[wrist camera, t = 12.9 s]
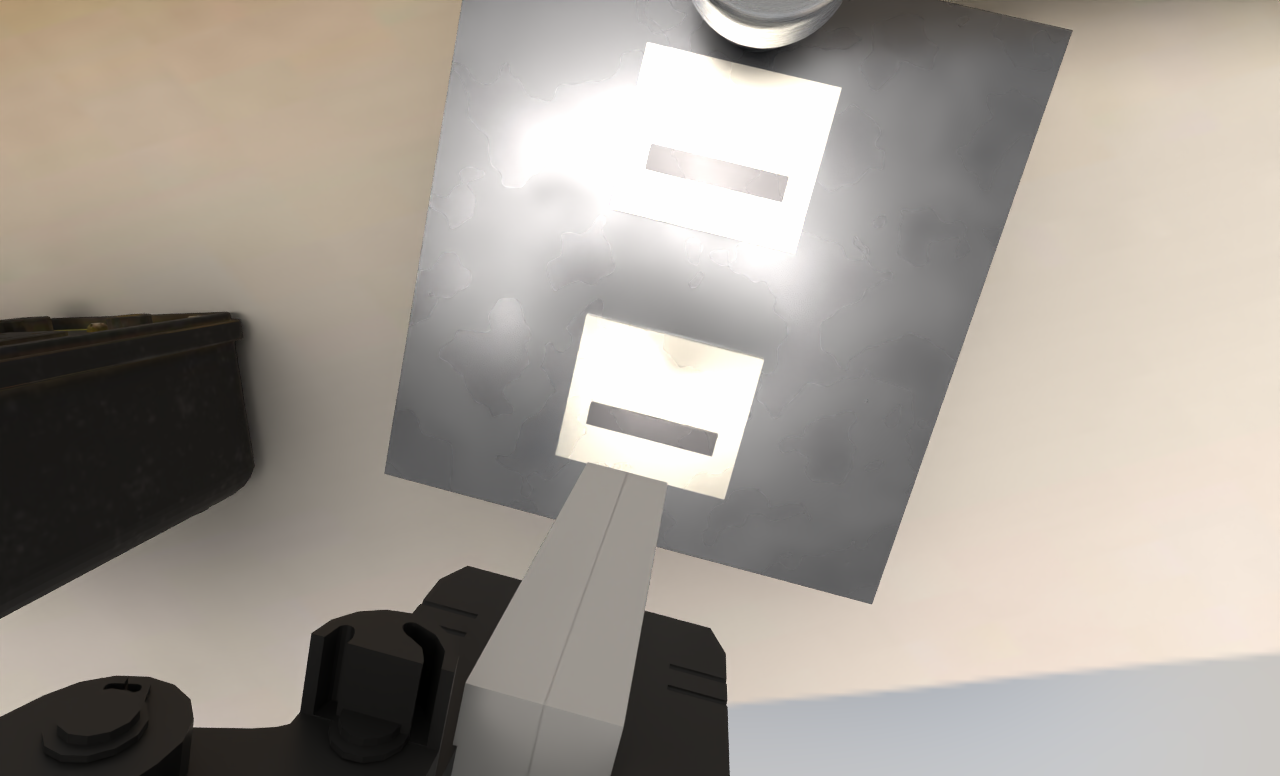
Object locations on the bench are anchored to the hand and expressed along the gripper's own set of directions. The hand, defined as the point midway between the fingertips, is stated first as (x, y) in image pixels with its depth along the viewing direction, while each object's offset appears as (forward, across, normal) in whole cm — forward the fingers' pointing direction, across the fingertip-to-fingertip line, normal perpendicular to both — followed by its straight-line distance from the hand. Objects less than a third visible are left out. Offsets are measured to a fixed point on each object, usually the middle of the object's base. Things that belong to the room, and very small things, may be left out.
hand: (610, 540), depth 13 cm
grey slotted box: (+14, 0, +4) cm, 15 cm away
